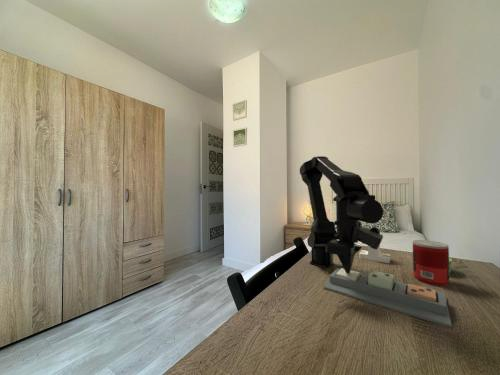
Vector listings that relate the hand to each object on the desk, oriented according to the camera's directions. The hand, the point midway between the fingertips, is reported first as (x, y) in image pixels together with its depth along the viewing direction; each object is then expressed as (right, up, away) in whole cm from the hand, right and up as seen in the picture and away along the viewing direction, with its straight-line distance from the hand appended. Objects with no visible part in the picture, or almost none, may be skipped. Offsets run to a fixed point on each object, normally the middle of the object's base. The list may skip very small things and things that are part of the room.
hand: (347, 272), depth 58 cm
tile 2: (+6, -1, -5) cm, 8 cm away
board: (+6, -3, -5) cm, 9 cm away
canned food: (+25, -3, +2) cm, 26 cm away
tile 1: (0, -3, 0) cm, 3 cm away
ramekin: (+33, -4, +10) cm, 35 cm away
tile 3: (+12, -2, -11) cm, 16 cm away
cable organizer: (+20, -4, +21) cm, 29 cm away
